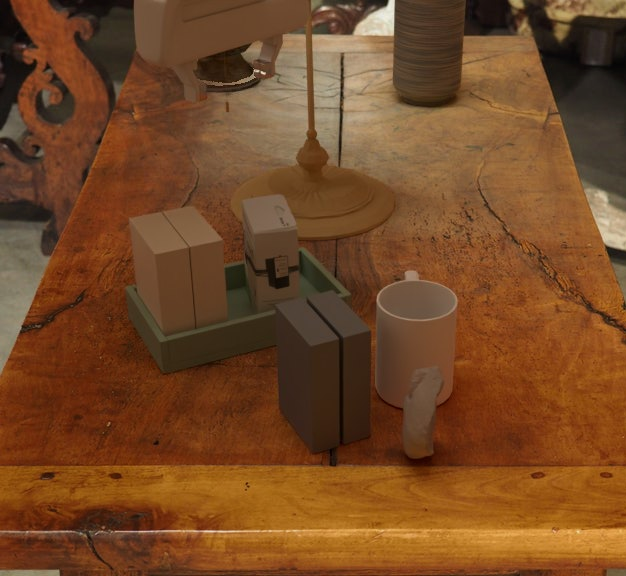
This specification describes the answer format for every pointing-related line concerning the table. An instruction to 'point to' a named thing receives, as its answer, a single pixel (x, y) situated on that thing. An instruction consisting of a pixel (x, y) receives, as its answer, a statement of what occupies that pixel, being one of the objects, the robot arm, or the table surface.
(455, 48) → the vase
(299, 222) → the desk lamp
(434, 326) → the mug
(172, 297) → the cream books
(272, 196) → the ink box
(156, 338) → the book trough
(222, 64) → the lantern
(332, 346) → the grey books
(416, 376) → the fossil
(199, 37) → the robot arm
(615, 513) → the table surface
